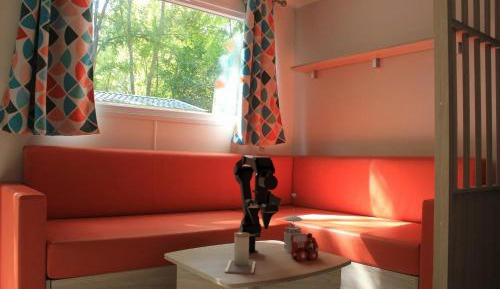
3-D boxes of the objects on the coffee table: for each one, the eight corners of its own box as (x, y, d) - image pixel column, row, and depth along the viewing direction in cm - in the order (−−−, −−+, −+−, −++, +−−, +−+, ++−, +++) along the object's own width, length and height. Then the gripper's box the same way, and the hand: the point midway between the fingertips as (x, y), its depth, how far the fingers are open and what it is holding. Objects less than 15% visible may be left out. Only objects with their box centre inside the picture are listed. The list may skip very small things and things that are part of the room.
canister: (234, 262, 164) (235, 231, 164) (249, 262, 164) (250, 232, 164) (232, 265, 158) (233, 234, 159) (248, 266, 158) (248, 235, 158)
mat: (229, 261, 166) (229, 260, 166) (255, 263, 166) (255, 261, 166) (224, 272, 151) (225, 270, 151) (253, 274, 151) (253, 272, 151)
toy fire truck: (322, 260, 174) (322, 234, 174) (295, 262, 169) (295, 235, 169) (313, 256, 180) (313, 231, 180) (286, 258, 175) (287, 232, 176)
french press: (304, 248, 193) (306, 192, 193) (302, 254, 182) (304, 195, 182) (282, 247, 195) (284, 191, 195) (279, 252, 184) (281, 194, 184)
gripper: (291, 189, 167) (290, 230, 166) (268, 185, 183) (267, 222, 183) (265, 190, 162) (264, 231, 161) (244, 185, 178) (243, 223, 178)
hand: (260, 227), depth 171 cm, fingers open, 9 cm apart
